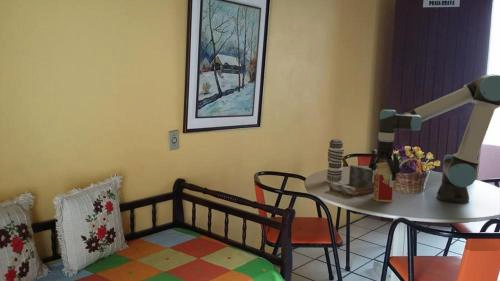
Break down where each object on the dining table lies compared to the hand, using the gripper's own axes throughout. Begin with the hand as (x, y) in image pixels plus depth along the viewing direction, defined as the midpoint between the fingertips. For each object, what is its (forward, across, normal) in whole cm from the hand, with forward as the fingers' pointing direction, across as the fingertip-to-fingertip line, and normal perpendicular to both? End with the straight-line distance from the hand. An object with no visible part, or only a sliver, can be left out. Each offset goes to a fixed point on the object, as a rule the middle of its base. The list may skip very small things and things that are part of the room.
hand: (382, 184), depth 219 cm
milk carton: (+8, 0, 0) cm, 8 cm away
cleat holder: (+8, +19, 0) cm, 20 cm away
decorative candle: (+8, +39, -9) cm, 41 cm away
